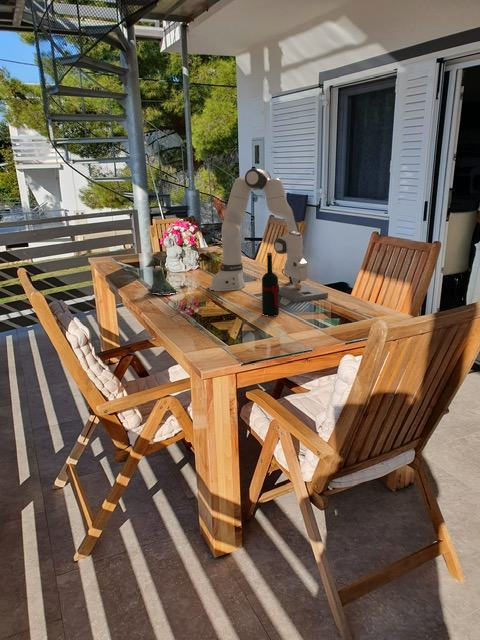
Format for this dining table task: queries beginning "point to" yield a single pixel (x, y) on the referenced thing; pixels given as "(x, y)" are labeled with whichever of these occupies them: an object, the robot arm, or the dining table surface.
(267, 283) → the wine bottle
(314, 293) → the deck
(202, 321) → the dining table surface
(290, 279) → the coffee mug
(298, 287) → the ball
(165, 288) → the tree stump
